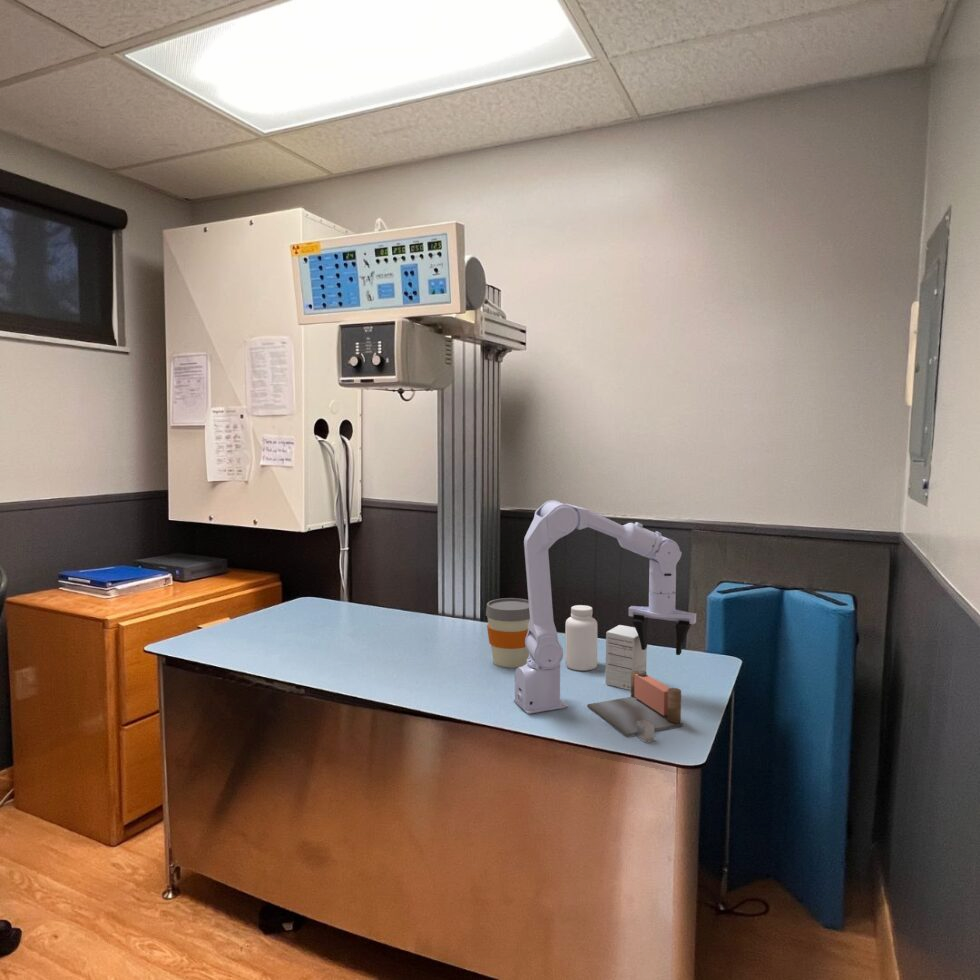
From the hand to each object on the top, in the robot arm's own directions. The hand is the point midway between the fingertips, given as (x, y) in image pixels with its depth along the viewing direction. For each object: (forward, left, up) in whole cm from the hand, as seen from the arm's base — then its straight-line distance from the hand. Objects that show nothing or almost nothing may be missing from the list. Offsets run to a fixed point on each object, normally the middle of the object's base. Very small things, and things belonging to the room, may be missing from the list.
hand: (661, 651), depth 154 cm
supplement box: (-3, +9, -10) cm, 14 cm away
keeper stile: (-15, -17, -10) cm, 25 cm away
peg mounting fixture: (-12, -7, -10) cm, 17 cm away
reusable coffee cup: (-22, +33, -10) cm, 41 cm away
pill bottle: (-7, +23, -10) cm, 26 cm away
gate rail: (-6, -7, -9) cm, 13 cm away
